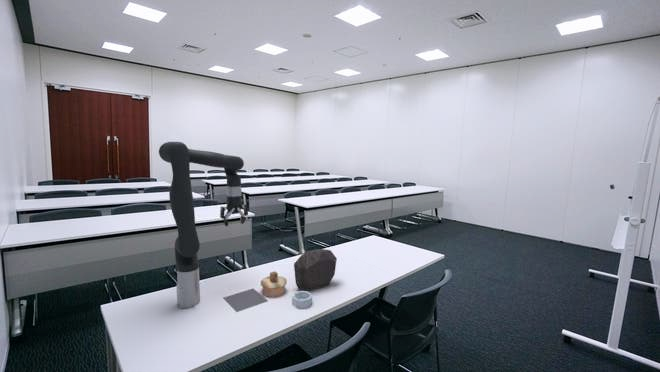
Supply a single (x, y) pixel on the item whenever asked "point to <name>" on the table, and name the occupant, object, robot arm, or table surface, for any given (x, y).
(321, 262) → the decorative stone
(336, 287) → the table surface
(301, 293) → the small bowl
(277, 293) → the bowl
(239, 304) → the mat
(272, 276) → the lid
